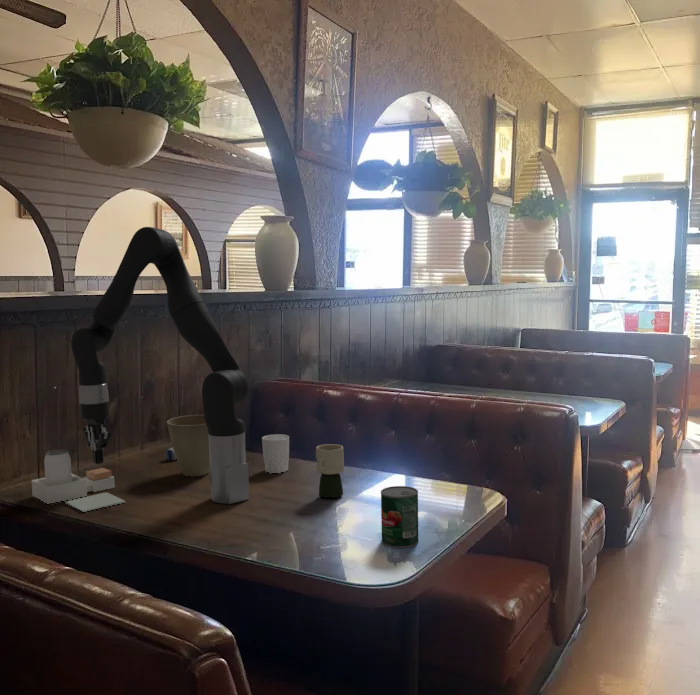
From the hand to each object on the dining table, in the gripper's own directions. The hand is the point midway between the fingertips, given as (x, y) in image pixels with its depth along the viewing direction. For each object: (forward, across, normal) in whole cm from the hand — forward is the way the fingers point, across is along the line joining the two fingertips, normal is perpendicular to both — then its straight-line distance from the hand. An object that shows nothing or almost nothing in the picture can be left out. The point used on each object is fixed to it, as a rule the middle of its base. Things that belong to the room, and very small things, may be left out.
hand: (98, 463), depth 206 cm
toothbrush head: (+8, +15, -41) cm, 44 cm away
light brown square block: (+7, 0, 0) cm, 7 cm away
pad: (+7, -13, +7) cm, 16 cm away
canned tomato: (+8, -88, -27) cm, 92 cm away
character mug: (+8, -53, -38) cm, 65 cm away
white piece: (+7, 0, +6) cm, 9 cm away
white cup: (+8, -22, -44) cm, 50 cm away
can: (+7, 0, +11) cm, 13 cm away
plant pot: (+7, -7, -26) cm, 28 cm away
